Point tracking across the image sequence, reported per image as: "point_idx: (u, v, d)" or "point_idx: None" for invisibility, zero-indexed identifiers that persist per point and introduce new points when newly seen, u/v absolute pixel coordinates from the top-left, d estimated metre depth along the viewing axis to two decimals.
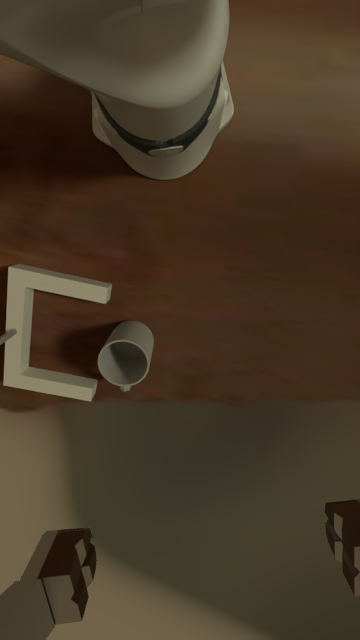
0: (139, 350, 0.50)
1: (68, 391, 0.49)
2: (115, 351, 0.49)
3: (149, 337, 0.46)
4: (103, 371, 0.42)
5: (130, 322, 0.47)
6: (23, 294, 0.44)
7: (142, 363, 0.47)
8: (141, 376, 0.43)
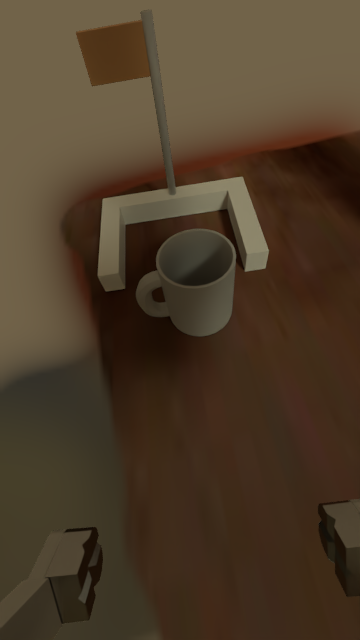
0: None
1: (107, 250, 0.36)
2: None
3: (225, 310, 0.30)
4: (170, 243, 0.28)
5: None
6: (218, 191, 0.40)
7: (180, 315, 0.30)
8: None
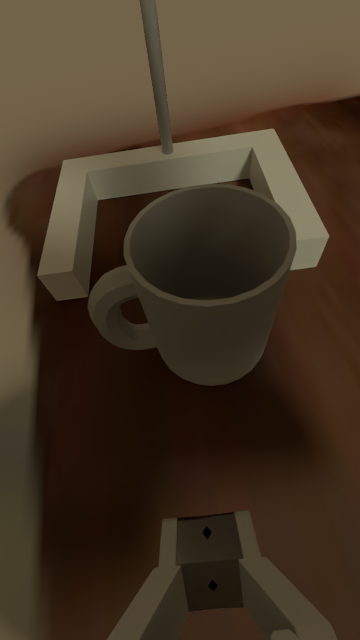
0: None
1: (60, 235, 0.22)
2: None
3: (261, 344, 0.15)
4: (157, 211, 0.14)
5: None
6: (238, 148, 0.26)
7: None
8: None
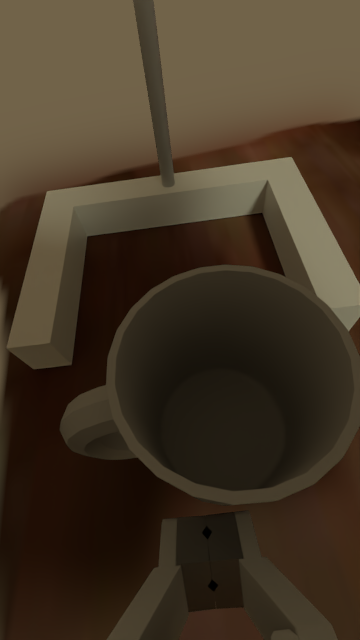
0: (194, 459, 0.15)
1: (37, 291, 0.18)
2: (174, 383, 0.17)
3: None
4: (155, 302, 0.10)
5: None
6: (251, 180, 0.22)
7: None
8: None
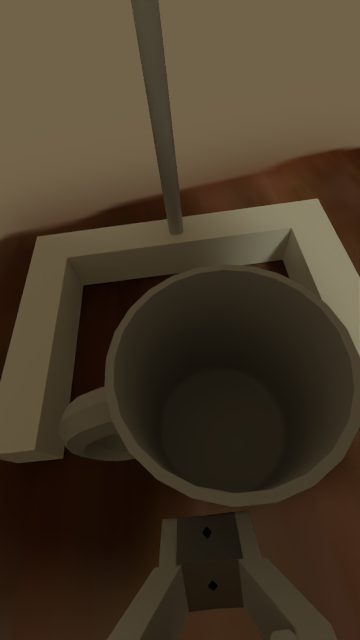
0: (194, 459, 0.15)
1: (22, 373, 0.16)
2: (173, 383, 0.16)
3: None
4: (153, 303, 0.10)
5: None
6: (272, 228, 0.19)
7: None
8: None
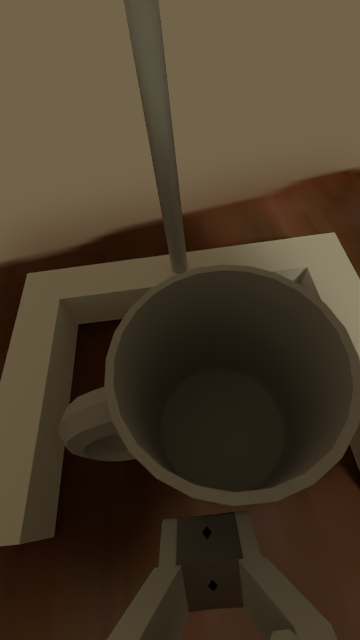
0: (194, 459, 0.15)
1: (7, 442, 0.14)
2: (173, 383, 0.17)
3: None
4: (153, 303, 0.10)
5: None
6: (285, 267, 0.18)
7: None
8: None
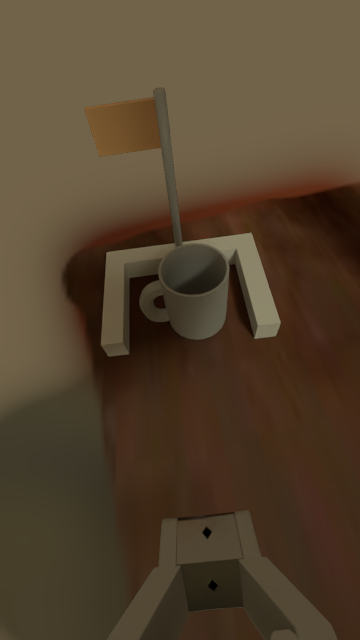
0: None
1: (111, 314, 0.35)
2: None
3: (220, 316, 0.33)
4: (171, 255, 0.32)
5: None
6: (227, 248, 0.39)
7: None
8: None
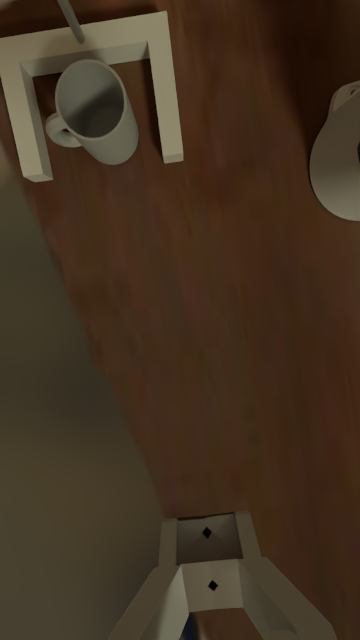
0: None
1: (24, 140, 0.36)
2: (88, 114, 0.37)
3: (128, 146, 0.35)
4: (66, 77, 0.29)
5: None
6: (137, 41, 0.33)
7: None
8: None
